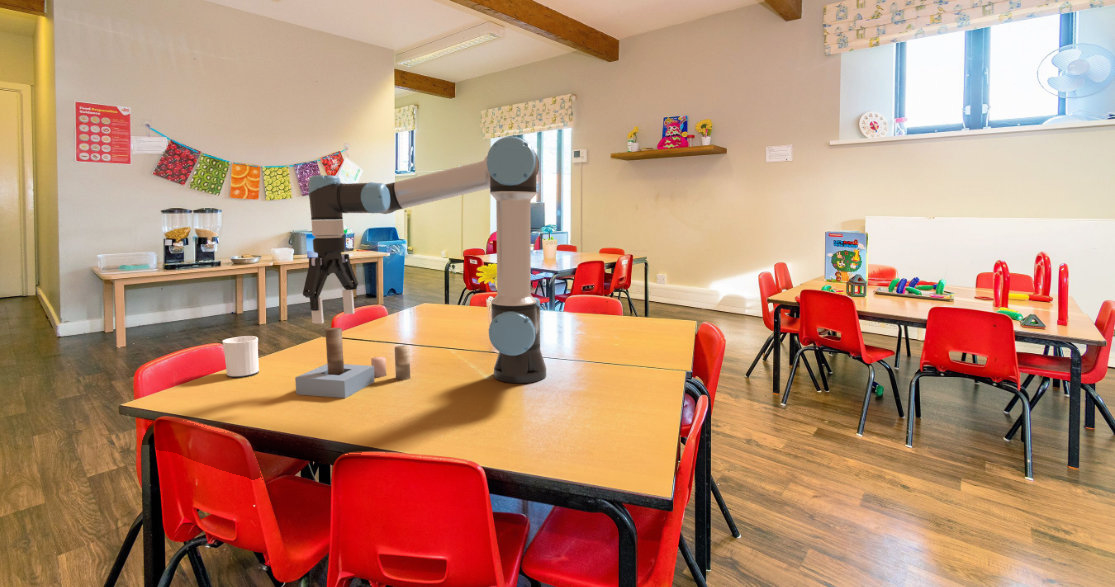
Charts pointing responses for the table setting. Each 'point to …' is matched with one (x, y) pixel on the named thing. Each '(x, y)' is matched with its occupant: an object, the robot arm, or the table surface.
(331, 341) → the pin long
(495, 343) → the robot arm
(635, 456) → the table surface
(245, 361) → the mug
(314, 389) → the socket
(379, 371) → the pin short
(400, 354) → the pin medium
